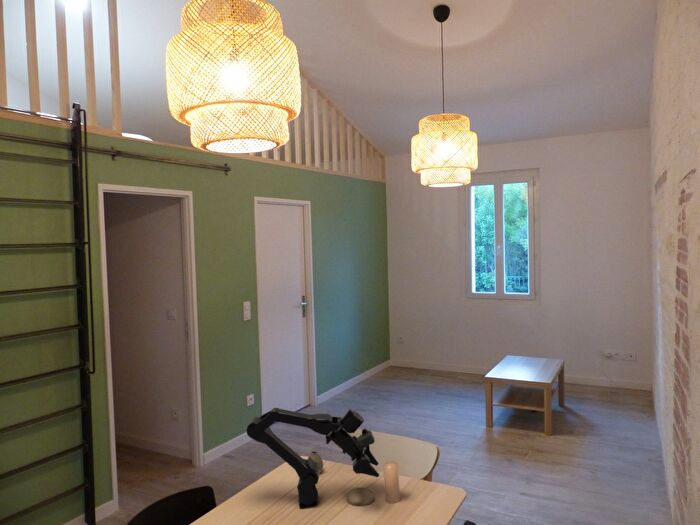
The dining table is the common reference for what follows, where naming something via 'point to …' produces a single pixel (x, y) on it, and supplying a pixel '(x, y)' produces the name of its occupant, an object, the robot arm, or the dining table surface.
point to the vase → (317, 459)
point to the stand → (360, 496)
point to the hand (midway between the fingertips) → (378, 470)
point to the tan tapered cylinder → (391, 482)
